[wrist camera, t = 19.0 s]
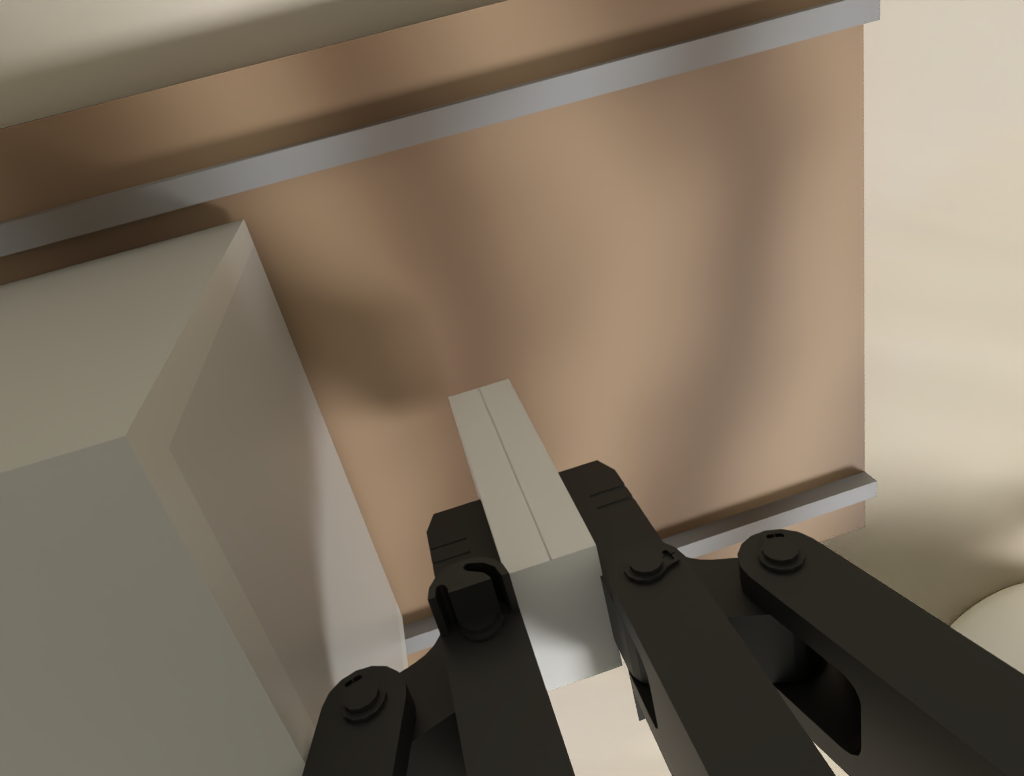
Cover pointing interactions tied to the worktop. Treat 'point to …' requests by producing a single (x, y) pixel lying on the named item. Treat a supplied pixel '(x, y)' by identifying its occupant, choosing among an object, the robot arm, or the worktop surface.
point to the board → (527, 248)
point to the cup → (997, 625)
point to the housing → (172, 524)
